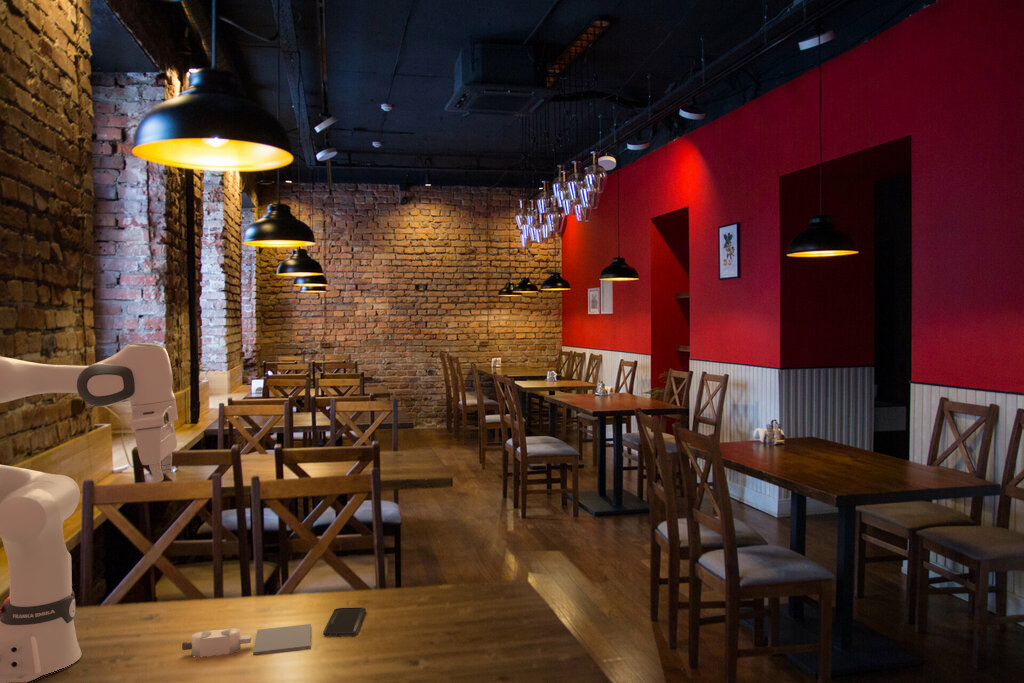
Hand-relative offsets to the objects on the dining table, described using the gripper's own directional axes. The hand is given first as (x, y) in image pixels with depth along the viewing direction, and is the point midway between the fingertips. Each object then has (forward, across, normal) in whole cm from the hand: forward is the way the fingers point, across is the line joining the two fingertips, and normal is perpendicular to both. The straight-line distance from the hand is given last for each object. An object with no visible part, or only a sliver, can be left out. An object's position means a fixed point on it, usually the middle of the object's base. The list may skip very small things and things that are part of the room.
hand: (163, 477), depth 158 cm
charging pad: (+41, +2, +21) cm, 46 cm away
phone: (+43, -4, +35) cm, 55 cm away
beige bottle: (+40, +4, +7) cm, 40 cm away
